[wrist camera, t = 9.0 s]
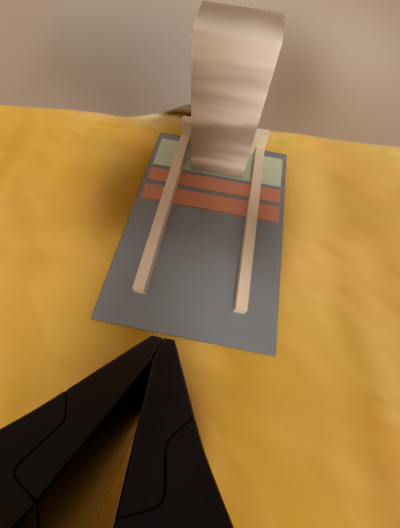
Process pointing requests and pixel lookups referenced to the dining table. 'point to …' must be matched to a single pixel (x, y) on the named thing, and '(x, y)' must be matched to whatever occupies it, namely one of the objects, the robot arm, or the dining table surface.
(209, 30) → the cream block
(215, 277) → the track
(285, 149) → the dining table surface
